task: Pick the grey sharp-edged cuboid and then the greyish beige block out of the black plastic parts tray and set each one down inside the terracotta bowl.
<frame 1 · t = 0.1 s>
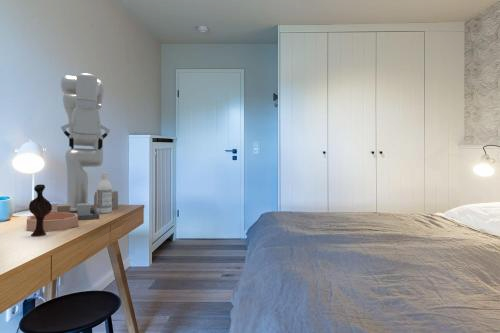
hand: (86, 149, 128), 31 cm above the table, tool pointing down, fingers open, 9 cm apart
tray: (73, 217, 146), on the table
bowl: (53, 226, 129), on the table
greyish beige block: (63, 218, 144), resting in tray
fossil: (106, 210, 169), on the table
grey sharp-edged cuboid: (83, 217, 149), resting in tray
bath foam: (104, 212, 161), on the table
figurine: (40, 235, 116), on the table
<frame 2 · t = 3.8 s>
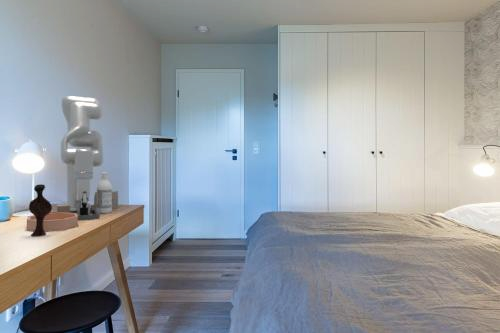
hand: (83, 215, 149), 1 cm above the table, tool pointing down, fingers closed on grey sharp-edged cuboid, 4 cm apart
grey sharp-edged cuboid: (83, 217, 149), resting in tray, touching gripper
everything else where it was.
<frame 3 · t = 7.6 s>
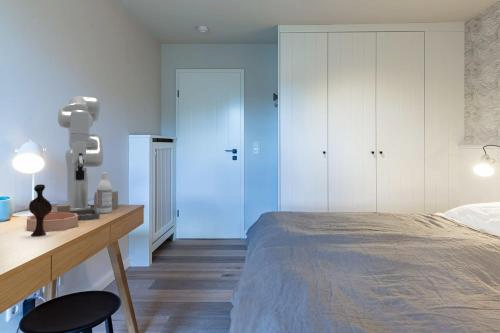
hand: (79, 179, 143), 18 cm above the table, tool pointing down, fingers closed on grey sharp-edged cuboid, 4 cm apart
grey sharp-edged cuboid: (79, 181, 143), point 17 cm above the table, touching gripper
everything else where it was.
when the fingers open (3 cm above the table, at t = 11.6 s): grey sharp-edged cuboid drops 2 cm, resting on bowl.
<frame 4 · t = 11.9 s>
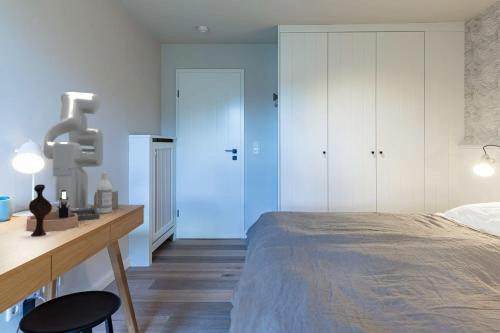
hand: (63, 215, 131), 4 cm above the table, tool pointing down, fingers open, 7 cm apart
grey sharp-edged cuboid: (63, 223, 131), point 1 cm above the table, touching bowl
everything else where it was.
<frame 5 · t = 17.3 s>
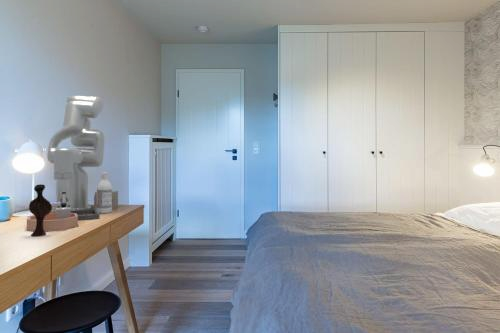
hand: (63, 216, 144), 1 cm above the table, tool pointing down, fingers closed on greyish beige block, 4 cm apart
greyish beige block: (63, 218, 144), resting in tray, touching gripper
everything else where it was.
when the fingers open (3 cm above the table, at t = 25.1 s): greyish beige block drops 2 cm, resting on bowl.
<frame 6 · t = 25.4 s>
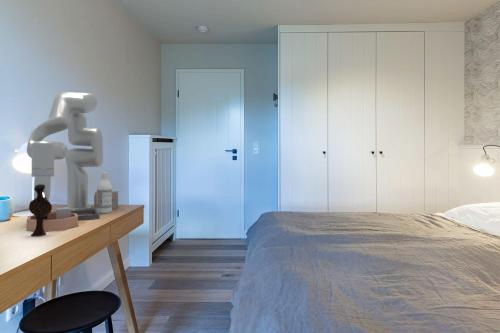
hand: (42, 216, 128), 4 cm above the table, tool pointing down, fingers open, 7 cm apart
greyish beige block: (42, 224, 128), point 1 cm above the table, touching bowl
everything else where it was.
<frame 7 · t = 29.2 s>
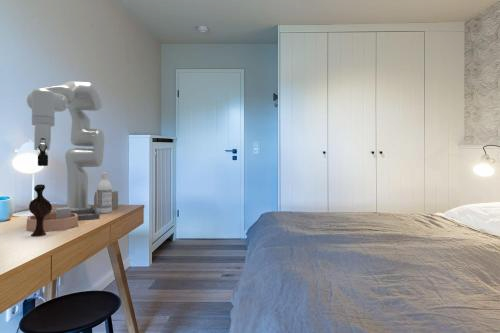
hand: (43, 165, 127), 24 cm above the table, tool pointing down, fingers open, 9 cm apart
nothing on the table moved.
at the end: grey sharp-edged cuboid inside the target area on the bowl (3.7 cm from its centre), point 0.8 cm above the bowl's base; greyish beige block inside the target area on the bowl (3.7 cm from its centre), point 0.8 cm above the bowl's base; the gripper is holding nothing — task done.
